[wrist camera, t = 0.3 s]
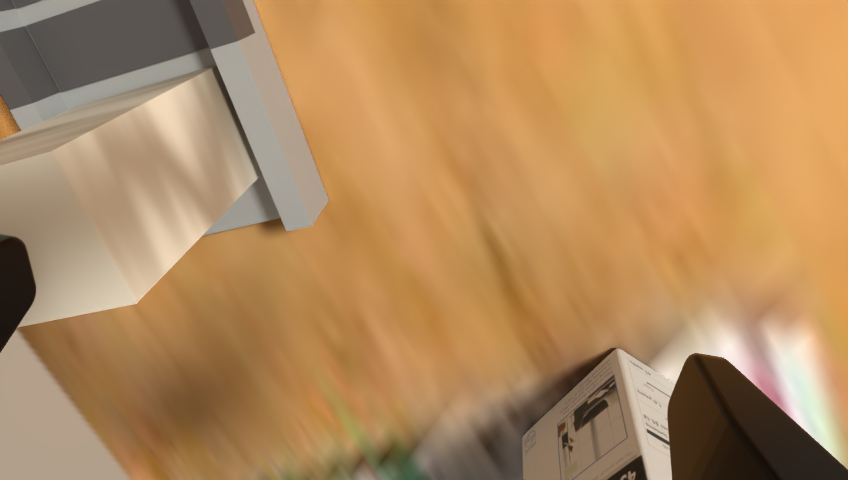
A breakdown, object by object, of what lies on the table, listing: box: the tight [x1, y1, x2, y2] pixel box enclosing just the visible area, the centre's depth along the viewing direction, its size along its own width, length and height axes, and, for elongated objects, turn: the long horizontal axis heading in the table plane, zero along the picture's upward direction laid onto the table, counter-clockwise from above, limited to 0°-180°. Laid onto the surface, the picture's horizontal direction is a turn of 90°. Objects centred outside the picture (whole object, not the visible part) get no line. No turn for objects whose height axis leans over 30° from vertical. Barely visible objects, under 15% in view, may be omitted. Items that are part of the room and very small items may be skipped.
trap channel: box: [0, 0, 328, 236], centre depth 21 cm, size 17×9×2 cm, turn 17°
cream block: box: [0, 65, 262, 328], centre depth 19 cm, size 4×6×9 cm, turn 107°
